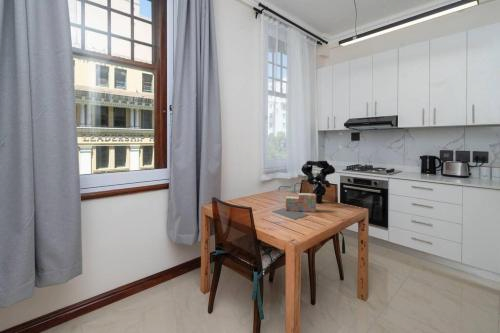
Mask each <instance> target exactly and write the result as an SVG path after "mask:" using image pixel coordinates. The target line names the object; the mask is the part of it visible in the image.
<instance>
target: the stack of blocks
mask: <svg viewBox="0 0 500 333" xmlns="http://www.w3.org/2000/svg"><path fill="white" fill-rule="evenodd" d="M284 204H285V207H284V208H285V209H286V210H288V211H298V212H304V213H305V212H308V213H310V212H311V213H316V211H317V210H316V209H317V208H316V207H317V203H316V195H315V194H313V193H312V192H311V193H309V192H307V193H305V192H301V193H300V192H298V193H297V196H285V202H284Z"/></svg>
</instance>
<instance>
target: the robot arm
mask: <svg viewBox="0 0 500 333" xmlns="http://www.w3.org/2000/svg"><path fill="white" fill-rule="evenodd" d="M313 166H314V167H317V168H319V169H320V171H319V172H313V168H314V167H313ZM301 172H302V173H303V175H306V176H307V178H306V181H307V182H308V184H310V185H313V187H312V192H311V194H315V195H316V204H323V203H325V201H323V196H325V194H326V192H327V189H326V188H329V189H330V187H331V183H330V181H329V180H327V176H329V175H333V174H335V172H336V169H335V167H334V166H333V165H332V164H329V162H328V161H327V160H317V161H316V160H307V161H306V163H304V164H303V165H302V167H301Z"/></svg>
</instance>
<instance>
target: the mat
mask: <svg viewBox="0 0 500 333" xmlns="http://www.w3.org/2000/svg"><path fill="white" fill-rule="evenodd" d="M271 212H272V213H275V214H278V215H281V216H284V217H286V218H289V219H293V220H297V219H301V218H304V217H308V216H309V214H308V213H305V212H302V211H288V210H286V209H285V207H283V208H280V209H275V210H271Z"/></svg>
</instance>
